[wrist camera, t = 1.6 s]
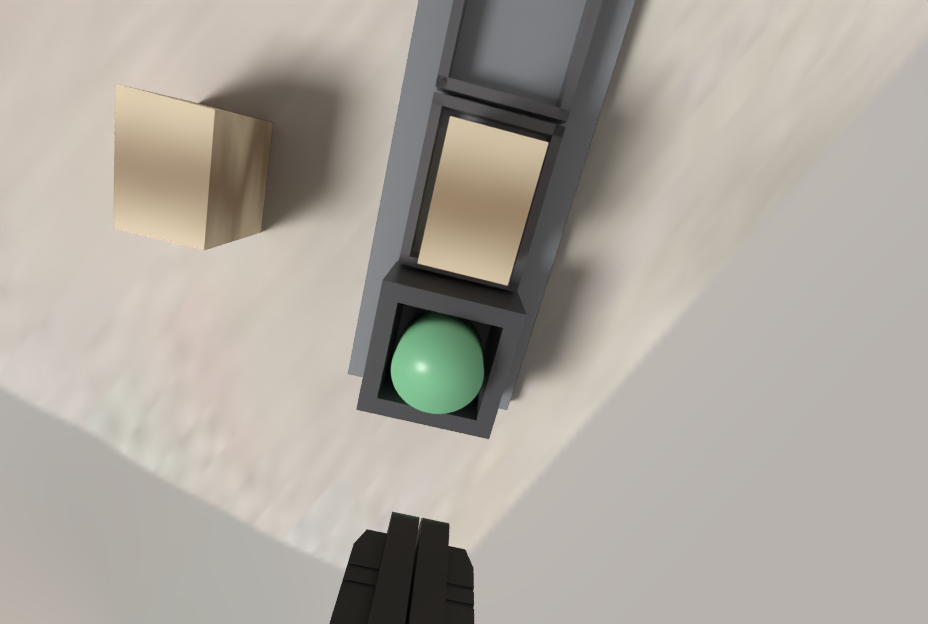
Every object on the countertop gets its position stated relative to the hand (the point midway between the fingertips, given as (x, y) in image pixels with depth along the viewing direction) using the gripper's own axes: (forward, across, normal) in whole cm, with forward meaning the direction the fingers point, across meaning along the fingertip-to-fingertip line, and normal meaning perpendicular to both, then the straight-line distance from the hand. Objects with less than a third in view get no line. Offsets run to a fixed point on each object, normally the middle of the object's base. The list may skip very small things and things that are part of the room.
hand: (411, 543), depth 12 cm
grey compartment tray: (+17, 0, -8) cm, 19 cm away
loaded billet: (+16, 0, -8) cm, 18 cm away
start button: (+13, 0, 0) cm, 13 cm away
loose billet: (+17, +14, -6) cm, 22 cm away
